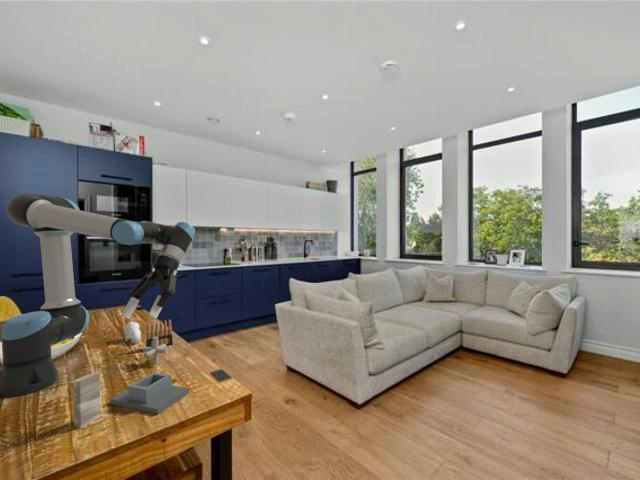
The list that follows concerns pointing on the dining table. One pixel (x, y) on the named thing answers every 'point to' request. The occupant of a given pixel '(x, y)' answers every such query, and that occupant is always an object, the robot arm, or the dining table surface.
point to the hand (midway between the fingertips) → (138, 316)
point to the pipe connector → (155, 350)
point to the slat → (86, 399)
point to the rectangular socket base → (150, 394)
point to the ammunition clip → (159, 334)
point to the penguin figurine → (132, 332)
